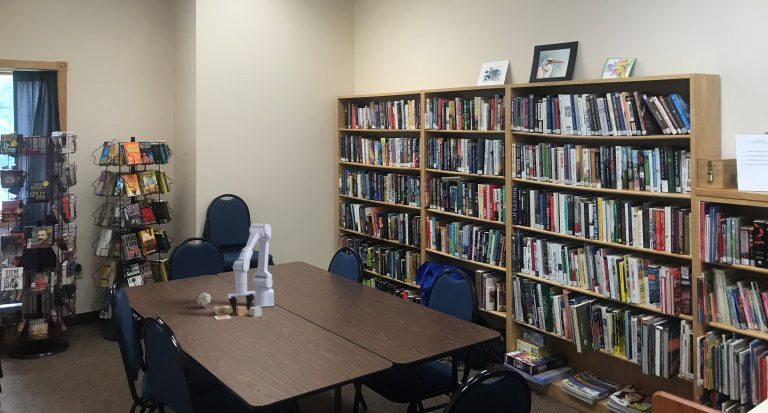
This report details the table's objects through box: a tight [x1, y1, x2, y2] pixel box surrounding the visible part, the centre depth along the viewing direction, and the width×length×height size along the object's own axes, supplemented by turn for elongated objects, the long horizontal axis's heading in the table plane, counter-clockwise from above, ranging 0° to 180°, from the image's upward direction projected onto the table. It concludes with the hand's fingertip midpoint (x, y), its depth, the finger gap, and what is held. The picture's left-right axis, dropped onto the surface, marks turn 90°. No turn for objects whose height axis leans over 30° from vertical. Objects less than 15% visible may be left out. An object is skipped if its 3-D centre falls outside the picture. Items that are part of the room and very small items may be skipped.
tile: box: [213, 314, 232, 321], centre depth 303 cm, size 7×7×1 cm
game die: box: [195, 291, 213, 309], centre depth 323 cm, size 9×8×10 cm
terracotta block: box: [236, 305, 248, 317], centre depth 309 cm, size 4×5×4 cm
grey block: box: [249, 306, 263, 318], centre depth 307 cm, size 4×5×4 cm
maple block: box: [214, 305, 232, 316], centre depth 313 cm, size 7×7×3 cm
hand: (241, 310), depth 309 cm, fingers open, 7 cm apart
